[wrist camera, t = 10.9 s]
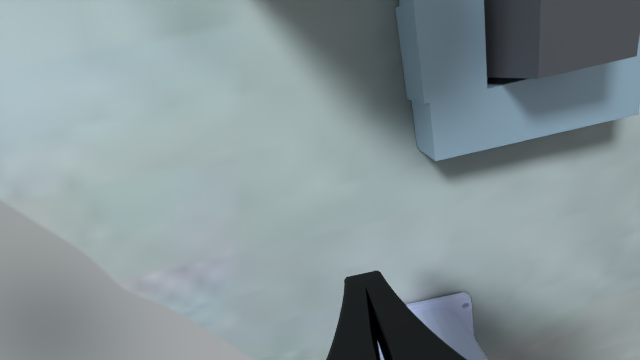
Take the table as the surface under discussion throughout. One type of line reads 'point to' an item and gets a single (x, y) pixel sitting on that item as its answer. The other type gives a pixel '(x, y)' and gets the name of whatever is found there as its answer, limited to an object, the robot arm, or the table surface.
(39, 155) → the table surface
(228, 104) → the table surface
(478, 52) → the socket plate
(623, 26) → the plug
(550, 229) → the table surface
